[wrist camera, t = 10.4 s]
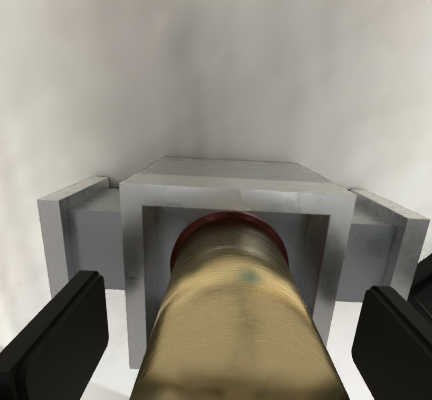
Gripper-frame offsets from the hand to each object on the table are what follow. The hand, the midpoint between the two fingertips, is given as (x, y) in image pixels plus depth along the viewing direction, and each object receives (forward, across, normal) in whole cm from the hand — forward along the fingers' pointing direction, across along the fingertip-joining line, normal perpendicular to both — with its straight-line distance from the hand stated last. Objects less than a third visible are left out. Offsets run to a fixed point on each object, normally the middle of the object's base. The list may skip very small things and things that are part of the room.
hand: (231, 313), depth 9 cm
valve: (+9, 0, 0) cm, 9 cm away
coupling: (+3, 0, 0) cm, 3 cm away
